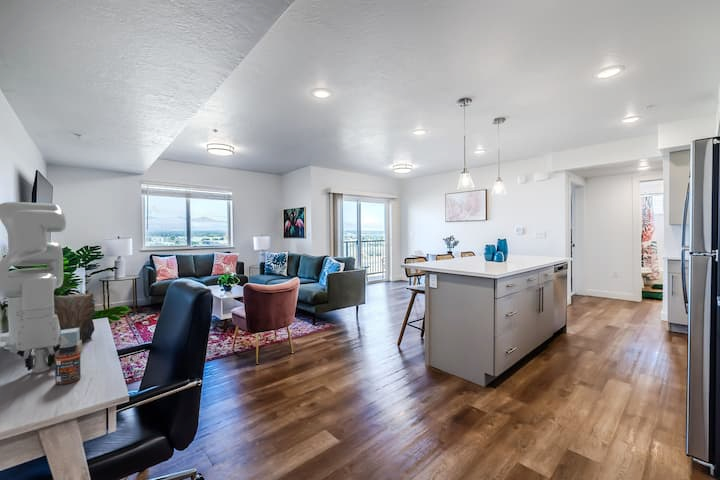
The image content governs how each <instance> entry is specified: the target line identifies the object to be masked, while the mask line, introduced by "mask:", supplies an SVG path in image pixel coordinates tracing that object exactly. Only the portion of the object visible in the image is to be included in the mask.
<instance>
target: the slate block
mask: <svg viewBox="0 0 720 480" xmlns="http://www.w3.org/2000/svg"><path fill="white" fill-rule="evenodd" d="M61 335H63V336H64V337H65V338H66V339H67V340H68V343H67V344H70V343H75V344H76V345H77V344H78V343H79V341H80V332H79V328H73V329H66V330H61ZM60 343H61V341H59V343H58V344H60ZM58 344H57V345H58ZM57 345H55V347H56V346H57Z"/></svg>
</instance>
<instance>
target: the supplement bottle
mask: <svg viewBox="0 0 720 480" xmlns="http://www.w3.org/2000/svg"><path fill="white" fill-rule="evenodd" d="M76 348H77V347H76V344H75V343H70V344H65V345H62V346H60V347H59V351H60V352H59V353H58V354H56V356H55V363H54V365H55V366H54V370H55V371H54V379H55V384H56V385H60V386H61V385H63V386H65V385H68V384H72V383H76V382H78V381H79V380H80V379H81V378H82V367H81V366H82V364H81V363H82V362H81V361H82V357H81V355H82V354H81V353H80V351H79V350H77V349H76Z"/></svg>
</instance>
